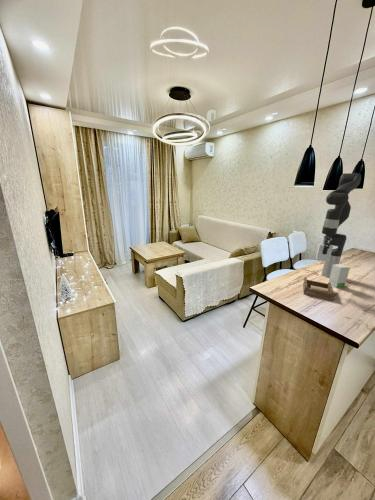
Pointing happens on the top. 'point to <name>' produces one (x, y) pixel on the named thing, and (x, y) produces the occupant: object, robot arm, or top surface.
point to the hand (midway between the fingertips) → (324, 253)
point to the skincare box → (339, 275)
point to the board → (323, 256)
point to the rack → (317, 293)
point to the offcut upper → (319, 288)
